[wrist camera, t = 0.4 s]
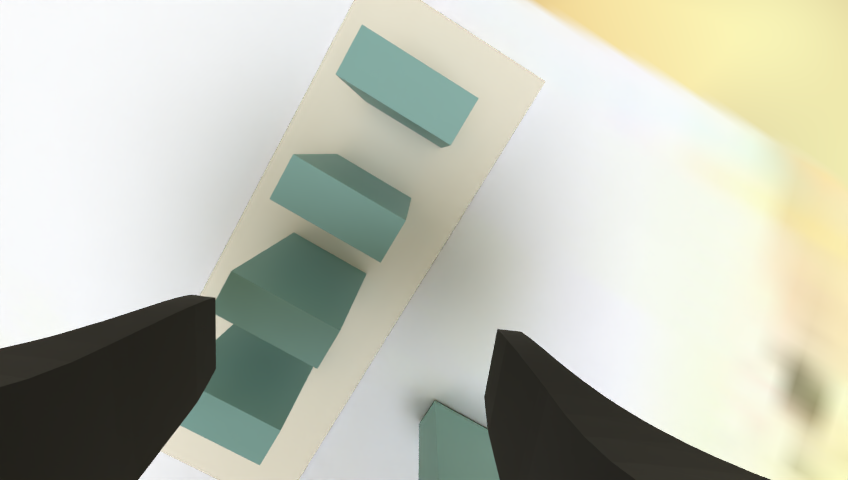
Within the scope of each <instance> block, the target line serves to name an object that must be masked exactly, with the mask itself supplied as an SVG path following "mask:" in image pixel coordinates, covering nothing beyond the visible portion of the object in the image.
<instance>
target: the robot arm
mask: <svg viewBox="0 0 848 480" xmlns="http://www.w3.org/2000/svg"><path fill="white" fill-rule="evenodd" d="M215 370H216V303H215V297H206V296H197V295H187V296H182V297H178V298H174V299H171V300H167V301H164V302H161V303H158V304H155V305H152V306H148V307H145V308H142V309H139V310H136V311H133V312H130V313H127V314H124V315H121V316H118V317H115V318H112V319H109V320H105V321H102V322H99V323H95V324H92V325H89V326H85V327H82V328H79V329H75V330H72V331H69V332H65V333H62V334H58V335H55V336H51V337H47V338H43V339H39V340H35V341H31V342H27V343H23V344H18V345H14V346H10V347H5V348H1V349H0V480H138V479H139V478H140V477H141V475H142V474H143V473H144V471H145V470H146V469H147V468H148V466H149V465H150V464H151V462H152V461H153V460H154V458H155V457H156V456H157V455H158V453H159V452H160V451H161V449H162V448H163V447H164V446H165V444H166V443H167V442H168V440H169V439H170V438H171V436H172V435H173V434H174V433H175V431H176V430H177V429H178V427H179V426H180V425H181V423H182V422H183V421H184V419H185V418H186V417H187V415H188V414H189V413H190V411H191V410H192V409H193V407H194V406H195V405H196V403H197V402H198V400H199V398H200V397H201V395H202V393H203V392H204V390H205V388H206V386H207V385H208V383H209V381H210V379H211V377H212V375H213V374H214V372H215ZM484 398H485V408H486V418H487V426H488V434H489V438H490V442H491V446H492V450H493V455H494V459H495V463H496V467H497V471H498V475H499V479H500V480H770V479H767V478H765V477H762V476H759V475H757V474H754V473H752V472H749V471H747V470H745V469H742V468H740V467H738V466H735V465H733V464H731V463H728V462H726V461H723V460H721V459H719V458H716V457H714V456H712V455H710V454H708V453H706V452H703V451H701V450H699V449H697V448H695V447H693V446H691V445H688V444H686V443H685V442H683V441H681V440H679V439H677V438H675V437H673V436H671V435H669V434H667V433H665V432H663V431H661V430H659V429H657V428H656V427H654V426H652V425H650V424H648V423H647V422H645V421H643V420H641V419H640V418H638V417H636V416H635V415H633V414H631V413H630V412H628V411H627V410H625V409H623V408H622V407H620V406H618V405H617V404H615V403H614V402H612V401H611V400H609V399H608V398H606V397H605V396H603V395H602V394H600V393H599V392H598V391H596V390H595V389H593V388H592V387H591V386H589V385H588V384H587V383H585V382H584V381H582V380H581V379H580V378H578V377H577V376H576V375H575V374H573V373H572V372H571V371H569V370H568V369H567V368H566V367H564V366H563V365H562V364H561V363H560V362H558V361H557V360H556V359H555V358H553V357H552V356H551V355H550V354H549V353H547V352H546V351H545V350H544V349H543V348H541V347H540V346H539V345H538V344H537V343H535V342H534V341H533V340H532V339H530V338H529V337H528V336H526V335H525V334H523V333H522V332H518V331H509V330H500V329H497V334H496V339H495V345H494V350H493V355H492V360H491V366H490V371H489V376H488V381H487V386H486V392H485V397H484Z"/></svg>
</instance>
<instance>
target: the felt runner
mask: <svg viewBox="0 0 848 480" xmlns="http://www.w3.org/2000/svg"><path fill="white" fill-rule="evenodd" d="M361 25H364V26H366V27H367V28H369V29H370V30H372V31H373V32H375V33H377V34H378V35H380V36H381V37H383V38H384V39H386V40H388V41H389V42H391V43H392V44H394V45H395V46H397V47H399V48H400V49H402V50H403V51H405V52H407V53H408V54H410V55H411V56H413V57H414V58H416V59H418V60H419V61H421V62H422V63H424V64H425V65H427V66H429V67H430V68H432V69H433V70H435V71H437V72H438V73H440V74H441V75H443V76H444V77H446V78H448V79H449V80H451V81H452V82H454V83H455V84H457V85H459V86H460V87H462V88H463V89H465V90H466V91H468V92H470V93H471V94H473V95H474V96H476V97H478V98H479V99H478V100H477V102H476V104H475V105H474V107H473V109H472V110H471V112H470V114H469V116H468V117H467V119H466V121H465V122H464V124H463V126H462V127H461V129H460V131H459V132H458V134H457V136H456V137H455V139H454V141H453V142H452V144H451V145H450V146H446V147H443V148H440V147H439V146H437V145H436V144H434V143H432V142H431V141H429V140H427V139H426V138H424V137H423V136H421V135H419V134H418V133H416V132H414V131H413V130H411V129H409V128H408V127H406V126H405V125H403V124H401V123H400V122H398V121H396V120H395V119H393V118H392V117H390V116H388V115H387V114H385V113H383V112H382V111H380V110H379V109H377V108H375V107H374V106H372V105H370V104H369V103H367V102H366V101H364V100H363V99H362V98H361V97H360V96H359V95H358V94H357V93H356V92H355V91H353V90H352V89H351V88H350V87H349V86H348V85H347V84H346V83H345V82H343V81H342V80H341V79H340V78H339V77H338V76H337V75H336V72H337V70H338V69H339V67H340V65H341V63H342V61H343V59H344V57H345V55H346V53H347V52H348V50H349V48H350V46H351V44H352V42H353V40H354V38H355V36H356V35H357V33H358V31H359V29H360V27H361ZM544 83H545V81H544V80H542V79H541V78H539V77H538V76H536V75H535V74H533V73H532V72H530V71H529V70H527V69H525V68H524V67H522V66H521V65H519V64H518V63H516V62H515V61H513V60H512V59H510V58H509V57H507V56H506V55H504V54H502V53H501V52H499V51H498V50H496V49H495V48H493V47H492V46H490V45H489V44H487V43H486V42H484V41H482V40H481V39H479V38H478V37H476V36H475V35H473V34H472V33H470V32H469V31H467V30H466V29H464V28H462V27H461V26H459V25H458V24H456V23H455V22H453V21H452V20H450V19H449V18H447V17H446V16H444V15H443V14H441V13H439V12H438V11H436V10H435V9H433V8H432V7H430V6H429V5H427V4H426V3H424V2H423V1H421V0H354V2H353V3H352V5H351V7H350V9H349V11H348V13H347V15H346V17H345V19H344V21H343V23H342V24H341V26H340V28H339V30H338V32H337V34H336V36H335V38H334V40H333V42H332V44H331V46H330V47H329V49H328V51H327V53H326V55H325V57H324V59H323V61H322V63H321V65H320V67H319V69H318V70H317V72H316V74H315V76H314V78H313V80H312V82H311V84H310V86H309V88H308V90H307V92H306V93H305V95H304V97H303V99H302V101H301V103H300V105H299V107H298V109H297V111H296V113H295V115H294V116H293V118H292V120H291V122H290V124H289V126H288V128H287V130H286V132H285V134H284V136H283V138H282V139H281V141H280V143H279V145H278V147H277V149H276V151H275V153H274V155H273V157H272V159H271V161H270V162H269V164H268V166H267V168H266V170H265V172H264V174H263V176H262V178H261V180H260V182H259V183H258V185H257V187H256V189H255V191H254V193H253V195H252V197H251V199H250V201H249V203H248V205H247V206H246V208H245V210H244V212H243V214H242V216H241V218H240V220H239V222H238V224H237V226H236V228H235V229H234V231H233V233H232V235H231V237H230V239H229V241H228V243H227V245H226V247H225V249H224V251H223V252H222V254H221V256H220V258H219V260H218V262H217V264H216V266H215V268H214V270H213V272H212V274H211V275H210V277H209V279H208V281H207V283H206V285H205V287H204V289H203V291H202V293H201V295H200V296H206V297H215V300H216V299H217V297H218V295H219V293H220V291H221V289H222V287H223V285H224V284H225V282H226V280H227V278H228V276H229V274H230V272H231V271H232V270H233V269H235V268H237V267H238V266H240V265H242V264H243V263H245V262H246V261H248V260H250V259H251V258H253V257H255V256H256V255H258V254H259V253H261V252H263V251H264V250H266V249H268V248H269V247H271V246H273V245H274V244H276V243H277V242H279V241H281V240H282V239H284V238H286V237H287V236H289V235H290V234H292V233H296V234H298V235H299V236H301V237H303V238H305V239H306V240H308V241H310V242H312V243H313V244H315V245H317V246H319V247H321V248H322V249H324V250H326V251H328V252H329V253H331V254H333V255H335V256H336V257H338V258H340V259H342V260H343V261H345V262H347V263H349V264H350V265H352V266H354V267H356V268H358V269H359V270H361V271H363V272H365V273H366V276H365V278H364V281H363V283H362V285H361V287H360V289H359V291H358V294H357V296H356V298H355V300H354V302H353V304H352V306H351V309H350V311H349V313H348V315H347V317H346V319H345V322H344V324H343V326H342V328H341V330H340V332H339V334H338V335H337V337H336V339H335V340H334V342H333V344H332V345H331V347H330V349H329V350H328V352H327V354H326V355H325V357H324V359H323V360H322V362H321V364H320V365H319V367H318V369H316V368H315V367H313V368H312V370H311V372H310V374H309V376H308V378H307V380H306V382H305V384H304V386H303V388H302V390H301V392H300V394H299V396H298V398H297V400H296V402H295V404H294V406H293V408H292V409H291V411H290V413H289V415H288V417H287V419H286V421H285V423H284V425H283V427H282V429H281V431H280V433H279V434H278V436H277V438H276V439H275V441H274V443H273V444H272V446H271V448H270V449H269V451H268V453H267V454H266V456H265V458H264V459H263V461H262V463H261V464H260V465H258V464H256V463H254V462H252V461H250V460H248V459H246V458H244V457H242V456H240V455H238V454H236V453H234V452H232V451H230V450H228V449H226V448H224V447H222V446H220V445H218V444H216V443H214V442H212V441H210V440H208V439H206V438H204V437H202V436H200V435H198V434H196V433H194V432H192V431H190V430H188V429H186V428H184V427H182V426H179V427H178V429H177V430H176V431H175V433H174V434H173V435H172V436H171V438H170V439H169V440H168V442H167V443H166V444H165V446H164V447H163V448H162V449H161V452H163V453H165V454H167V455H169V456H171V457H173V458H175V459H177V460H179V461H181V462H183V463H185V464H188V465H190V466H192V467H194V468H196V469H198V470H200V471H202V472H204V473H206V474H208V475H210V476H212V477H214V478H216V479H218V480H299V478H300V477H301V475H302V474H303V472H304V470H305V469H306V467H307V465H308V464H309V462H310V461H311V459H312V457H313V456H314V454H315V453H316V451H317V449H318V448H319V446H320V444H321V443H322V441H323V440H324V438H325V436H326V435H327V433H328V432H329V430H330V428H331V427H332V425H333V423H334V422H335V420H336V419H337V417H338V415H339V414H340V412H341V411H342V409H343V407H344V406H345V404H346V403H347V401H348V399H349V398H350V396H351V394H352V393H353V391H354V390H355V388H356V386H357V385H358V383H359V382H360V380H361V378H362V377H363V375H364V373H365V372H366V370H367V369H368V367H369V365H370V364H371V362H372V361H373V359H374V357H375V356H376V354H377V353H378V351H379V349H380V348H381V346H382V344H383V343H384V341H385V340H386V338H387V336H388V335H389V333H390V332H391V330H392V328H393V327H394V325H395V323H396V322H397V320H398V319H399V317H400V315H401V314H402V312H403V311H404V309H405V307H406V306H407V304H408V302H409V301H410V299H411V298H412V296H413V294H414V293H415V291H416V290H417V288H418V286H419V285H420V283H421V282H422V280H423V278H424V277H425V275H426V273H427V272H428V270H429V269H430V267H431V265H432V264H433V262H434V261H435V259H436V257H437V256H438V254H439V252H440V251H441V249H442V248H443V246H444V244H445V243H446V241H447V240H448V238H449V236H450V235H451V233H452V231H453V230H454V228H455V227H456V225H457V223H458V222H459V220H460V219H461V217H462V215H463V214H464V212H465V211H466V209H467V207H468V206H469V204H470V202H471V201H472V199H473V198H474V196H475V194H476V193H477V191H478V190H479V188H480V186H481V185H482V183H483V181H484V180H485V178H486V177H487V175H488V173H489V172H490V170H491V169H492V167H493V165H494V164H495V162H496V161H497V159H498V157H499V156H500V154H501V152H502V151H503V149H504V148H505V146H506V144H507V143H508V141H509V140H510V138H511V136H512V135H513V133H514V131H515V130H516V128H517V127H518V125H519V123H520V122H521V120H522V119H523V117H524V115H525V114H526V112H527V110H528V109H529V107H530V106H531V104H532V102H533V101H534V99H535V98H536V96H537V94H538V93H539V91H540V90H541V88H542V86H543V85H544ZM293 154H338V155H340V156H342V157H343V158H345V159H347V160H348V161H350V162H352V163H353V164H355V165H357V166H358V167H360V168H362V169H363V170H365V171H367V172H368V173H370V174H372V175H373V176H375V177H377V178H378V179H380V180H382V181H384V182H385V183H387V184H389V185H390V186H392V187H394V188H395V189H397V190H399V191H400V192H402V193H404V194H405V195H407V196H409V197H410V198H411V202H410V206H409V210H408V214H407V218H406V221H405V223H404V225H403V226H402V228H401V230H400V231H399V233H398V235H397V236H396V238H395V240H394V241H393V243H392V245H391V246H390V248H389V250H388V251H387V253H386V255H385V256H384V258H383V260H382V261H381V263H380V262H378V261H377V260H375V259H373V258H371V257H370V256H368V255H366V254H364V253H363V252H361V251H359V250H357V249H356V248H354V247H352V246H350V245H349V244H347V243H345V242H344V241H342V240H340V239H338V238H337V237H335V236H333V235H331V234H330V233H328V232H326V231H324V230H323V229H321V228H319V227H317V226H316V225H314V224H312V223H310V222H309V221H307V220H305V219H303V218H302V217H300V216H298V215H296V214H295V213H293V212H291V211H289V210H288V209H286V208H284V207H282V206H281V205H279V204H277V203H275V202H274V201H272V200H270V197H271V195H272V193H273V191H274V189H275V187H276V185H277V184H278V182H279V180H280V178H281V176H282V174H283V172H284V170H285V168H286V167H287V165H288V163H289V161H290V159H291V157H292V155H293ZM232 325H233V324H232V323H230V322H229V321H227V320H225V319H223V318H221V317H219V316H217V315H216V339H217V338H218V337H220V336H221V335H222V334H223V333H224V332H225V331H226V330H227V329H228V328H229V327H231V326H232Z"/></svg>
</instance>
